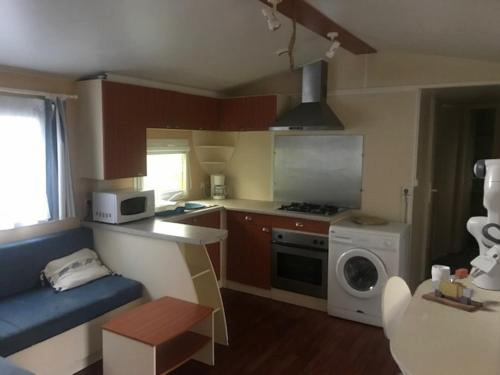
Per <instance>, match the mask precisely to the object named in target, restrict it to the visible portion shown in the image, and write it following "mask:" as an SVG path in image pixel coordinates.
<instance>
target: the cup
mask: <svg viewBox="0 0 500 375" xmlns="http://www.w3.org/2000/svg"><path fill="white" fill-rule="evenodd" d="M431 276H432V278H431V279H432V282H433V281H435V280H438V281H447V280H450V277H451V268H450V267H449V266H446V265H440V264H435V265H432V267H431Z"/></svg>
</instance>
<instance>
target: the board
mask: <svg viewBox="0 0 500 375" xmlns="http://www.w3.org/2000/svg"><path fill="white" fill-rule="evenodd" d="M421 299H423V300H426V301H429V302H433V303H437V304H440V305H443V306H448V307H451V308H454V309H458V310H461V311H465V312H467V313H471V312H473V311H475V310H477V309H479V308H481V307H483V306H484V303H483V302H481V301H476V300H472V299H471V304H469V305H464V304H461V303H460V300H461V297H457V298H455V297H452V296H448V295H445V297H442V298H439V297H435V290H434V291H432V292H428V293H426V294H422V295H421Z"/></svg>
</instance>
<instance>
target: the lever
mask: <svg viewBox="0 0 500 375" xmlns="http://www.w3.org/2000/svg"><path fill="white" fill-rule="evenodd" d="M468 275H469V270H468V269H467V268H459V269H455V274H453V275H450V280H451V282H453V283H454V282H456V280H464V279H467V278H468Z"/></svg>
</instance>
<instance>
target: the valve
mask: <svg viewBox="0 0 500 375" xmlns="http://www.w3.org/2000/svg"><path fill="white" fill-rule="evenodd" d="M432 289H434V291H435V297H439V298H442V297H445V295H448V296H452V297H455V298H457V297H461V300H460V303H461V304H464V305H469V304H471V300H472V298H473V297H474V288H470V287H467V285H464V283H462V282H459V281H455V282H454V283H453V282H451V279H449V280H447V281H438V280H435V281H433V280H432Z"/></svg>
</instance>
